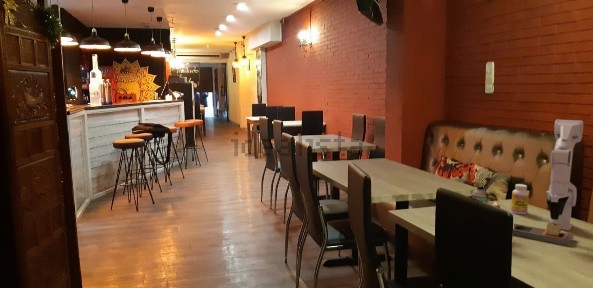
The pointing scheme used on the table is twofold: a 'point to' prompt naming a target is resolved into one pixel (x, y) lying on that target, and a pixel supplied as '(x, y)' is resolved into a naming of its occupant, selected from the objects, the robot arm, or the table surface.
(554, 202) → the robot arm
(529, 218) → the table surface
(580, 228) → the table surface
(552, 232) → the tan square knob peg
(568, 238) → the grey slotted board
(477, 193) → the spray can
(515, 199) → the supplement bottle
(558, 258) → the table surface
